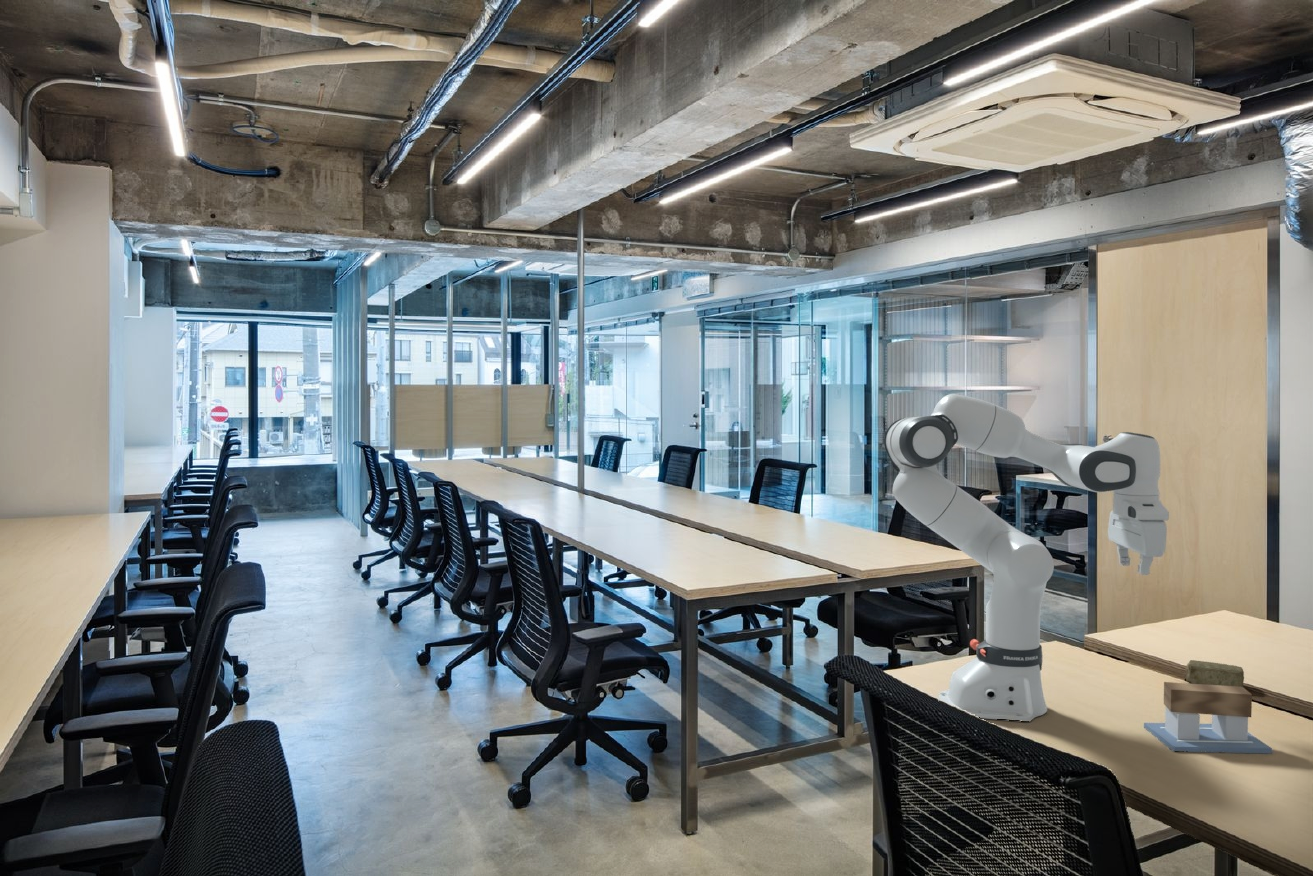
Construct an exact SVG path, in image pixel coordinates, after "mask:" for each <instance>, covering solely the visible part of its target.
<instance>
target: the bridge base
mask: <svg viewBox="0 0 1313 876" xmlns="http://www.w3.org/2000/svg"><path fill="white" fill-rule="evenodd" d="M1164 713H1165V715H1164V716H1165V717H1164V720H1165V722H1144V723H1143V728H1144V729H1145V728H1146V729H1147V731H1148V732H1149V733H1150V732H1151V733H1152V734H1151V733H1150V734H1151V735H1153V737H1155V738H1156V737H1157V738H1158V739H1157V738H1156V739H1157V740H1158V741H1159V742H1161V743H1162V742H1163V743H1164V744H1163V743H1162V744H1163V745H1165V746H1166V747H1167V746H1168V747H1169V748H1168V747H1167V748H1168V749H1169V750H1170V751H1172V752H1173V751H1184V752H1183V753H1219V752H1225V754H1226V753H1227V754H1228V753H1230V754H1231V753H1234V754H1236V753H1237V754H1273V748H1272V747H1271V746H1269V745H1268V744H1266V743H1265V742H1263V741H1261V740H1260V739H1259V738H1257V737H1256V736H1254V735H1252V734H1251V733H1250V732H1249V731H1248V730H1249V717H1239V716H1224V715H1211V723H1200V717H1201V716H1200V715H1201V714H1195V713H1181V712H1171V711H1170V710H1169V709H1168V708H1167V707H1166V706H1165V712H1164ZM1146 729H1145V730H1146ZM1186 751H1188V752H1186ZM1200 751H1202V752H1200ZM1205 751H1206V752H1205Z"/></svg>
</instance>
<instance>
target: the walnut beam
mask: <svg viewBox="0 0 1313 876" xmlns="http://www.w3.org/2000/svg"><path fill="white" fill-rule="evenodd" d="M1252 702H1253V694H1252V693H1251V692H1249V690H1247V689H1246V688H1245V687H1244V686H1243V687H1238V686H1222V685H1206V684H1193V683H1190V682H1187V683H1186V682H1174V681H1173V682H1172V681H1170V682H1169V681H1168V682H1167V681H1164V682H1163V705H1164V706H1165V708H1166V707H1167V708H1168V709H1169V710H1170V711H1171V712H1181V713H1195V714H1199V715H1211V716H1212V715H1224V716H1239V717H1248V718H1252V707H1253V706H1252Z"/></svg>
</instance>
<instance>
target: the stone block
mask: <svg viewBox="0 0 1313 876" xmlns="http://www.w3.org/2000/svg"><path fill="white" fill-rule="evenodd" d="M1185 680H1186V682H1187V683H1189V684H1206V685H1222V686H1238V687H1243V688H1244V681H1245V672H1244V669H1243V667H1242V666H1238V665H1233V664H1228V663H1227V664H1226V663H1219V662H1211V661H1204V660H1194V659H1190V660H1189V662H1187V664H1186V669H1185Z"/></svg>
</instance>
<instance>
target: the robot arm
mask: <svg viewBox="0 0 1313 876" xmlns="http://www.w3.org/2000/svg"><path fill="white" fill-rule="evenodd" d="M1025 425H1026V424H1025V422H1024V420H1023V418H1022V417H1021V416H1019V415H1017V414H1016V413H1014V412H1012V411H1011V410H1008V409H1007V408H1005V407H1002V406H1000V405H998V404H995V403H993V402H990V401H986V400H983V399H981V398H977V397H973V396H968V395H964V394H957V393H950V394H947V395H944V396H942V398H941V399H940V400H939V401H938V402H937V403H936V404H935V407H934V409H933V411H932V413H931V414H930V415H928V416H927V415H926V416H918V415H917V416H907V417H903V418H899V419H897V420H895V421H894V422H892V423H891V424H890V425H889V426H888V427H887V429H886V431H885V433H884V437H883V447H884V450H885V452H886V455H887V456H888V458H889V460H890V462H891V464H892V466H893V469H894V470H895V471H897V472H898V474H897V475H896V477H895V479H894V480H893V485H892V496H893V497H894V499H895V500H896V501H897V502H898V503H899V504H900V506H902V507H903V509H904V510H906V512H908V513H909V514H910V515H911V516H912V517H914V518H915V519H916V520H917V521H918V522H920V523H921V524H923V525H924V526H925V527H927V528H929V529H930V530H931V531H933V532H934V533H935V534H937V535H938V536H939V537H941V538H943V539H944V540H946V541H947V542H948V543H950V544H951V545H953V546H954V547H955V548H957V549H959V550H960V551H961V552H962V553H964V554H965V555H967V556H968V557H969V558H971V559H972V560H974V561H975V562H977V563H978V564H979V565H981V566H982V567H984V568H985V569H986V570H987V571H989V572H991V573H992V574H993V575H992V576H993V583H992V587H991V593H990V596H989V597H990V598H989V600H988V602H987V603H986V605H985V639H984V640H983V641H981V642H979V640H978V639H975V638H973V639H971V640H970V642H969V646H970V648H972V649H973V650H974V651H976V654H975V655H976V656H975V657H974V658H972V659H971V660H969V661H968V662H967V663H965V664H964V665H962V666H960V667H959V668H957V669H955V670H954V671H953V673H952V674H951V677H950V679H949V685H948V689H946V690H944V689H943V690H941V691H940V692H939V693H938V698H937V699H939V700H943V701H945V702H946V703H948V704H950V705H954V706H956V707H958V708H960V709H961V710H966V711H967V712H969V713H971V714H975V716H978V717H980V718H979V719H986V720H997V719H1013V720H1022V721H1029V722H1031V720H1032V719H1033V720H1034V718H1037V717H1040V716H1042V715H1045V714H1046V713H1047V712H1048V706H1047V704H1046V700H1045V695H1044V690H1043V684H1042V676H1041V675H1042V674H1041V671H1042V669H1043V668H1042V667H1043V648H1042V645H1041V642H1040V641H1041V639H1040V638H1041V610H1042V603H1043V600H1044V595H1045V591H1046V586H1047V582H1048V581H1049V580H1050V579H1051V577H1052V576H1053V573H1054V569H1055V564H1054V559H1053V556H1052V555H1051V553H1050V551H1049V550H1048V549H1047V547H1046V546H1045V545H1044V544H1043V542H1041V541H1040V540H1038V539H1037V538H1034V537H1032V536H1031V535H1028V534H1026V533H1024V532H1022V531H1021V530H1020V529H1017V528H1016V527H1014V526H1013V525H1011V524H1010V523H1008V522H1007V521H1006V520H1005V519H1003V518H1002V517H1000V516H999V515H997V513H995V512H994V511H993V510H991V509H990V508H989V507H988V506H987V505H985V504H983V502H981V501H980V500H978V499H977V498H975V497H974V496H973V495H971V494H970V493H968V492H967V491H965V490H963V489H962V488H961V487H960V486H958V485H957V484H955V483H954V482H952V481H951V480H949V479H947V478H946V477H944V475H943V474H942V473H941V472H940V471H939V469H938V467H937V465H938V464H939V463H941V462H942V461H943V460H944V459H945V458H946V457H947V456H948V454H949V453H950V451H951V450H952V449H953V447H955V445H958V446H962V447H963V448H966V449H969V450H971V451H974V452H977V453H980V454H983V455H986V456H991V457H995V458H1001V459H1007V458H1012V457H1013V458H1018V459H1020V460H1023V461H1025V462H1028V463H1031V464H1034V465H1036V466H1038V467H1041V468H1043V469H1046V470H1048V471H1049V472H1050V473H1051V474H1052V475H1053V476H1054V477H1055V478H1056V479H1057V480H1058V481H1059V482H1060V483H1061V484H1063V485H1065V486H1068V487H1071V488H1075V489H1077V488H1078V489H1082V490H1086V491H1089V492H1093V493H1106V492H1111V491H1113V492H1112V493H1113V499H1112V502H1113V503H1112V510H1111V511H1110V513H1109V519H1108V526H1107V527H1108V528H1107V537H1108V540H1109V541H1110V542H1111V543H1115V544H1116V551H1117V556H1118V563H1119V565H1121V566H1124V567H1125V566H1126V567H1128V566H1130V565H1131V558H1130V555H1129V550H1130V551H1133V552H1135V553H1138V554H1139V558H1140V563H1139V565H1137V573H1138V574H1140V575H1142V576H1148V575H1149V574H1150V571H1151V569H1150V567H1151V566H1152V563H1153V562H1154V557H1155V558H1158V557H1159V558H1161V557H1163V555H1164V553H1165V552H1166V547H1167V546H1166V545H1167V536H1168V535H1167V533H1168V532H1167V523H1166V521H1169V519H1170V512H1169V510H1168V508H1166V507H1165V506H1164V505H1163V503H1162V501H1161V500H1160V496H1161V495H1160V489H1159V479H1160V476H1161V450H1160V445H1159V442H1158V441H1157V439H1156V438H1155V437H1153V436H1151V435H1149V434H1148V435H1147V434H1142V433H1136V432H1131V431H1130V432H1129V431H1123V432H1120V433H1119V434H1118V435H1117V436H1114V438H1112V439H1110V440H1108V441H1106V442H1104V443H1102V444H1098V445H1095V446H1089V445H1086V444H1082V443H1068V444H1066V443H1064V444H1063V443H1057V442H1055V441H1052V440H1050V439H1047V438H1045V437H1043V436H1040V435H1037V434H1035V433H1032V432H1031V431H1029V430H1028V429H1026V426H1025ZM939 700H938V701H939ZM1033 720H1032V721H1033Z"/></svg>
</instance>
